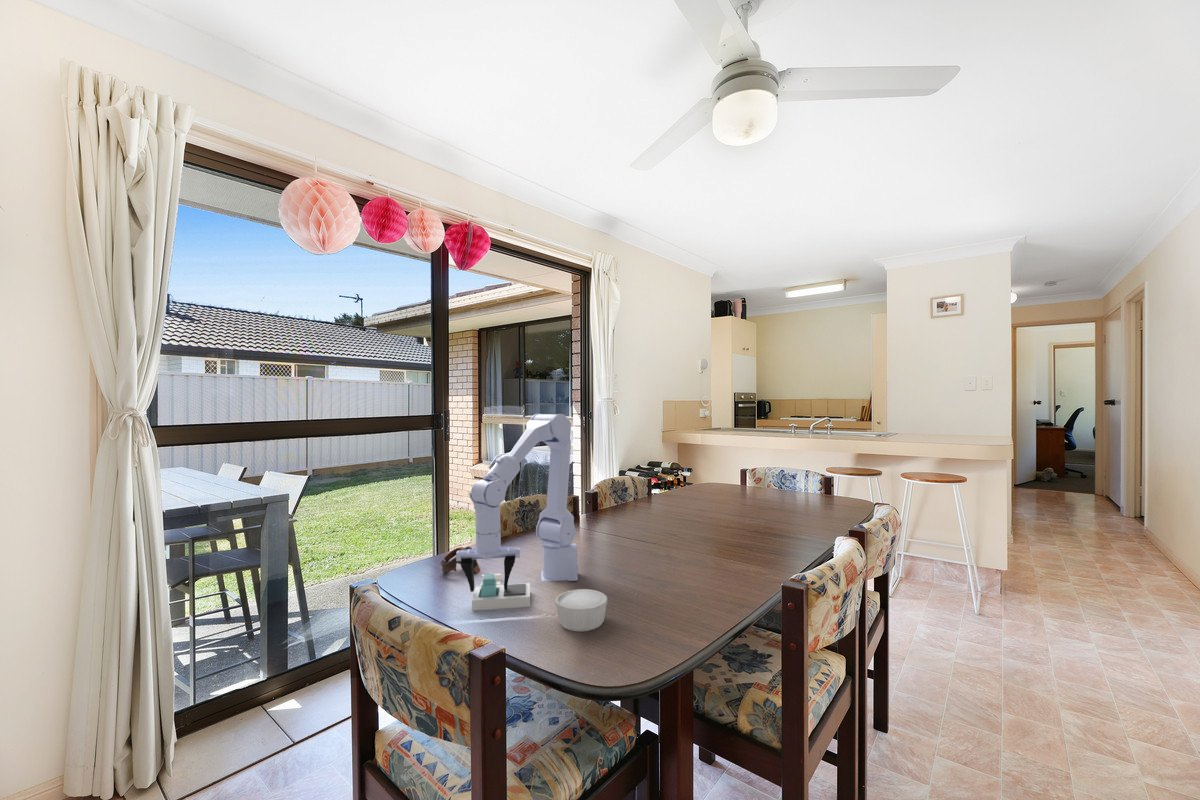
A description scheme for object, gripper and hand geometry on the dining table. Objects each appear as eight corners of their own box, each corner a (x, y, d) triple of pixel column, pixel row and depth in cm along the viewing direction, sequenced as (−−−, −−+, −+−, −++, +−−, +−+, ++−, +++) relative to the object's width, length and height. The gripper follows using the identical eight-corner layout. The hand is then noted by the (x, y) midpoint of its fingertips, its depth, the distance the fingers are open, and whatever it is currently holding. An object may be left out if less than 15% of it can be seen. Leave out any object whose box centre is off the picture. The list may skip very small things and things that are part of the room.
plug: (496, 599, 122) (496, 572, 122) (495, 607, 118) (495, 579, 118) (483, 600, 122) (482, 573, 122) (481, 608, 117) (481, 580, 117)
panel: (530, 594, 125) (529, 581, 125) (530, 608, 117) (529, 595, 117) (476, 598, 123) (475, 584, 123) (472, 613, 115) (471, 599, 115)
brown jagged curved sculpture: (477, 581, 136) (461, 557, 134) (448, 595, 137) (431, 571, 136) (488, 556, 148) (473, 533, 146) (461, 569, 149) (446, 547, 147)
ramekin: (558, 611, 115) (558, 588, 115) (608, 611, 115) (607, 588, 115) (552, 634, 104) (552, 609, 104) (607, 634, 104) (606, 609, 104)
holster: (501, 580, 135) (501, 573, 135) (499, 592, 127) (499, 584, 127) (482, 581, 134) (482, 574, 134) (479, 593, 126) (479, 585, 126)
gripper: (453, 537, 114) (454, 597, 115) (519, 534, 116) (520, 593, 117) (458, 529, 121) (459, 586, 122) (519, 526, 123) (520, 582, 124)
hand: (489, 589), depth 120 cm, fingers open, 7 cm apart
